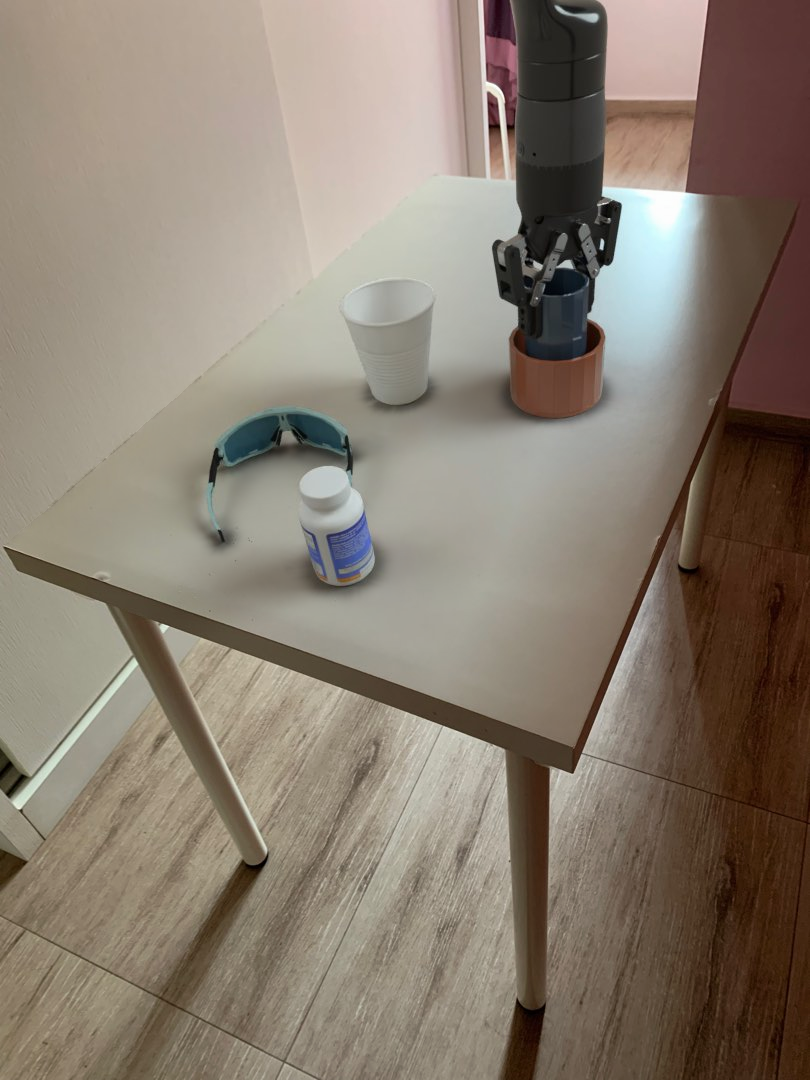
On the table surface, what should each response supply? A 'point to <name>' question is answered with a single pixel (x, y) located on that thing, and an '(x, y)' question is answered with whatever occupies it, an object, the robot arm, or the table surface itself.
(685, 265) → the table surface
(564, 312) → the slate cup
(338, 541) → the pill bottle
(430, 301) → the cup
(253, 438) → the sunglasses
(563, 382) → the terracotta cup
